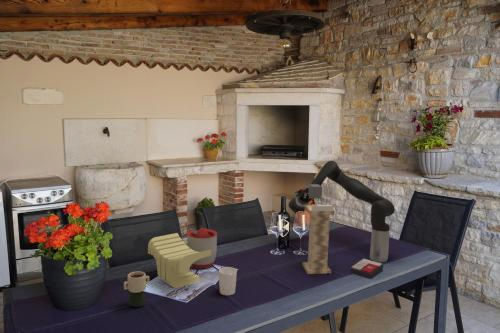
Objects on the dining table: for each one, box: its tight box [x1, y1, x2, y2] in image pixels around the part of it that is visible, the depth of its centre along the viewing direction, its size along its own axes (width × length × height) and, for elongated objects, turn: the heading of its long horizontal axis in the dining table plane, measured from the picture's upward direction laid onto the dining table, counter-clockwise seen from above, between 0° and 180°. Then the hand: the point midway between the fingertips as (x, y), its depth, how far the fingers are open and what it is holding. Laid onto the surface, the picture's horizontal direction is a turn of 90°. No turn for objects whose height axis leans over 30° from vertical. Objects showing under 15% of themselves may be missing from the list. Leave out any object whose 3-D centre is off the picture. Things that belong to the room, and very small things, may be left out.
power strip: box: [311, 203, 334, 211], centre depth 199 cm, size 10×2×3 cm, turn 97°
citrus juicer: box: [186, 226, 218, 269], centre depth 210 cm, size 16×17×20 cm
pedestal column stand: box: [301, 204, 335, 275], centre depth 207 cm, size 12×12×32 cm
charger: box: [305, 183, 323, 199], centre depth 215 cm, size 5×16×6 cm, turn 8°
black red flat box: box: [349, 258, 384, 280], centre depth 207 cm, size 11×4×15 cm
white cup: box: [218, 266, 238, 296], centre depth 179 cm, size 8×8×10 cm
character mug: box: [123, 270, 150, 308], centre depth 165 cm, size 11×7×13 cm, turn 130°
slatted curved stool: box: [147, 232, 211, 289], centre depth 190 cm, size 30×16×18 cm, turn 40°
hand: (311, 188), depth 217 cm, fingers closed on charger, 3 cm apart
